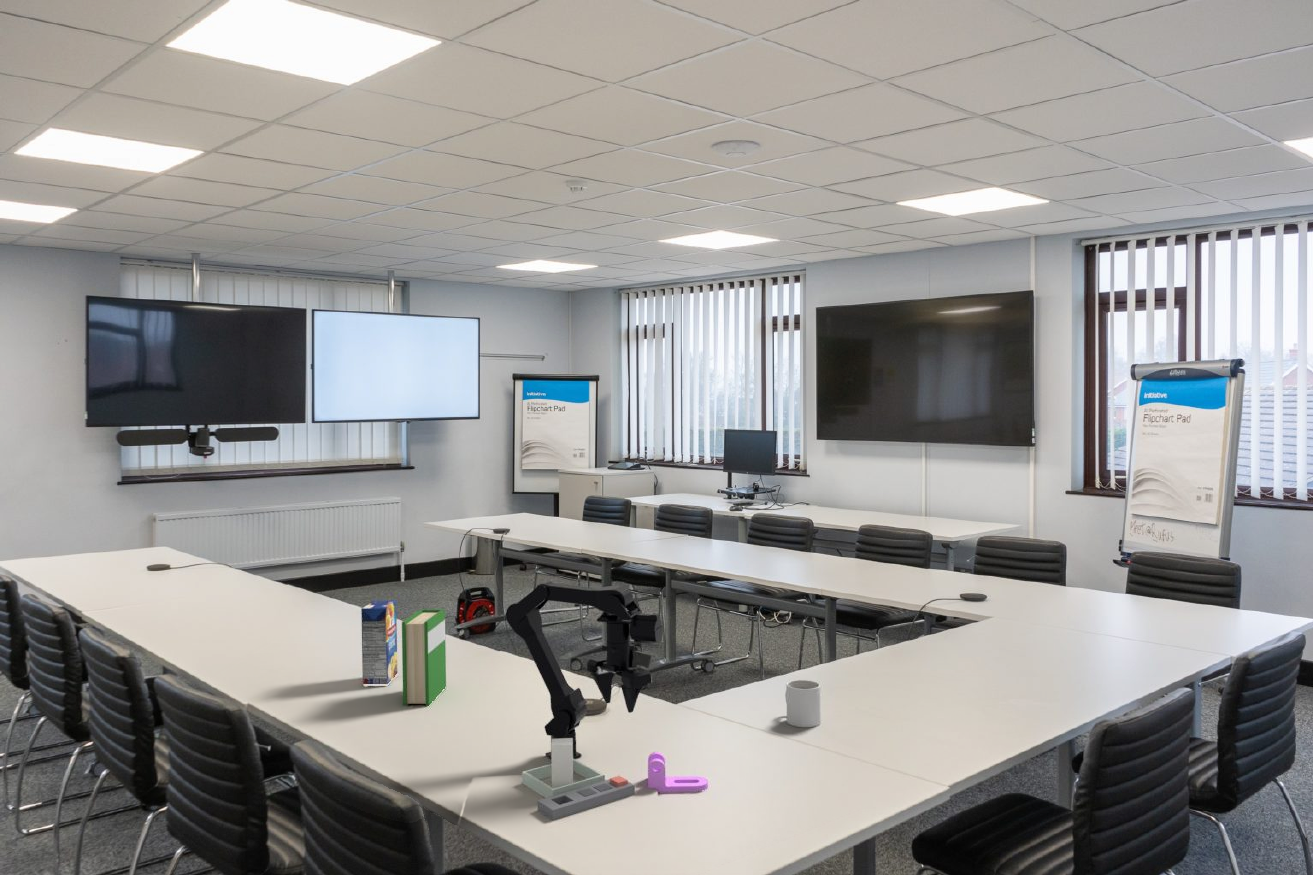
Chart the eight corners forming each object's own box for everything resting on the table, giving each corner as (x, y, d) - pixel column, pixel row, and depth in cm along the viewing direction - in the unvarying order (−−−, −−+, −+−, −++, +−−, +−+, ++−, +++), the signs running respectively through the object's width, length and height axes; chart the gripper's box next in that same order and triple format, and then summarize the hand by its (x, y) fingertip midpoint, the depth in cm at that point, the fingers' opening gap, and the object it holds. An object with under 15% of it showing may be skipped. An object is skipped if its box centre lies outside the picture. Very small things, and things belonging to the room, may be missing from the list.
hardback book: (428, 706, 260) (427, 622, 260) (403, 706, 260) (401, 622, 260) (446, 688, 278) (444, 609, 277) (422, 688, 278) (420, 609, 278)
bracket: (648, 793, 197) (647, 760, 197) (648, 783, 203) (647, 751, 203) (708, 792, 197) (708, 760, 197) (707, 782, 203) (706, 750, 203)
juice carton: (374, 676, 292) (372, 601, 292) (397, 675, 293) (396, 600, 292) (362, 686, 280) (361, 608, 280) (387, 686, 281) (385, 608, 280)
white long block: (552, 789, 198) (551, 738, 198) (573, 788, 199) (572, 737, 199) (552, 796, 194) (551, 745, 194) (573, 795, 195) (572, 744, 195)
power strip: (553, 825, 182) (552, 805, 182) (537, 815, 187) (537, 796, 187) (634, 798, 194) (634, 781, 194) (618, 790, 199) (618, 772, 199)
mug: (820, 728, 237) (819, 689, 237) (783, 726, 239) (782, 688, 239) (821, 715, 248) (820, 678, 248) (785, 713, 250) (785, 676, 250)
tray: (522, 787, 201) (522, 771, 201) (572, 773, 209) (572, 757, 209) (553, 806, 190) (552, 790, 190) (605, 790, 198) (604, 774, 198)
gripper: (670, 642, 212) (670, 710, 212) (623, 629, 227) (624, 692, 227) (630, 650, 205) (631, 720, 205) (585, 635, 220) (586, 700, 220)
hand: (619, 707), depth 215 cm, fingers open, 9 cm apart
